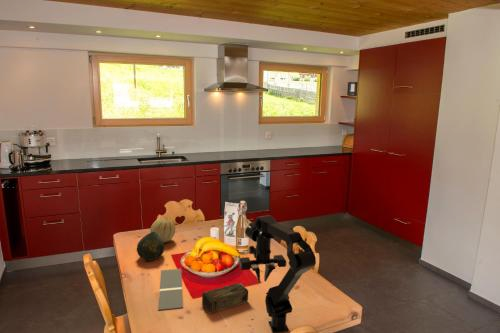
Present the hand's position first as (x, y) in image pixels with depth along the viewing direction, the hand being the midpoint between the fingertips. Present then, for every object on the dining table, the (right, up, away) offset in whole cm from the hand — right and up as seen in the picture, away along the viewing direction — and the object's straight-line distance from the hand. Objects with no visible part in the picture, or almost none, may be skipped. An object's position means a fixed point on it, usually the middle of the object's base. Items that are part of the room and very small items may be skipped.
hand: (261, 281), depth 141 cm
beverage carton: (-16, -12, +6) cm, 21 cm away
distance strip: (-42, -9, +17) cm, 46 cm away
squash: (-60, -3, +47) cm, 76 cm away
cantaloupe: (-59, +1, +69) cm, 90 cm away
